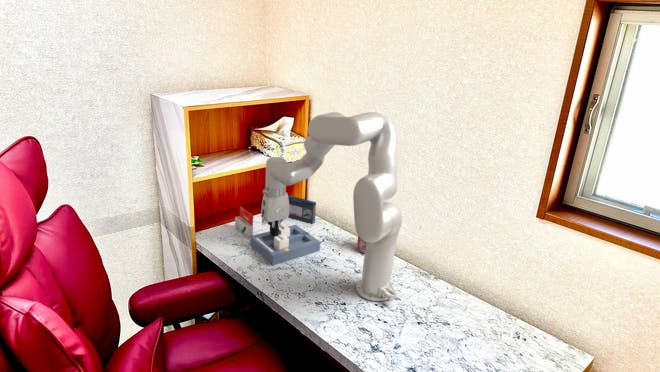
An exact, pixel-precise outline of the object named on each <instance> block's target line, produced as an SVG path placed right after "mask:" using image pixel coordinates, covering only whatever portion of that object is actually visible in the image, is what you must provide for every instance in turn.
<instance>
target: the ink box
mask: <svg viewBox="0 0 660 372" xmlns="http://www.w3.org/2000/svg"><path fill="white" fill-rule="evenodd" d="M234 217H235V218H234V229H236V230H237V231H238V232H240V234H242V235H243V236H245V237H246V239H250V236H253V235H254V214H252V213H251V212H249V211H248V210H247V209H245V208H244V207H243V206H241V205H240V206H239V216H234Z"/></svg>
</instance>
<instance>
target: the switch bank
mask: <svg viewBox="0 0 660 372" xmlns="http://www.w3.org/2000/svg"><path fill="white" fill-rule="evenodd" d="M287 227H289V228H290V236H289V237H287V238H288V239H289V247H287V248H284V249H281V250H277V251H276V250H274V236H273V235H271V234H270V230H269V231H266V232H262V233H257V234H253V236H250V238H249V239H250V243H249V246H250V247H251V248H252V249H254V250H255V251H256V252H257V253H258V254H259V255H261V257H263V258H264V259H265V260H266V261H267V262H268V263H270V264H271V265H272V266H276V265H278V264H282V263H285V262H288V261H291V260H294V259H297V258H301V257H304V256H308V255H311V254H315V253H318V252H320V251H321V241H320V240H319V239H318V238H316V237H314V236H313V235H312V234H310V233H309V232H308V231H306V230H304V229H303V228H302V227H300V226H298V225H297V224H293V225H288V226H287ZM275 237H276V236H275Z"/></svg>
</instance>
